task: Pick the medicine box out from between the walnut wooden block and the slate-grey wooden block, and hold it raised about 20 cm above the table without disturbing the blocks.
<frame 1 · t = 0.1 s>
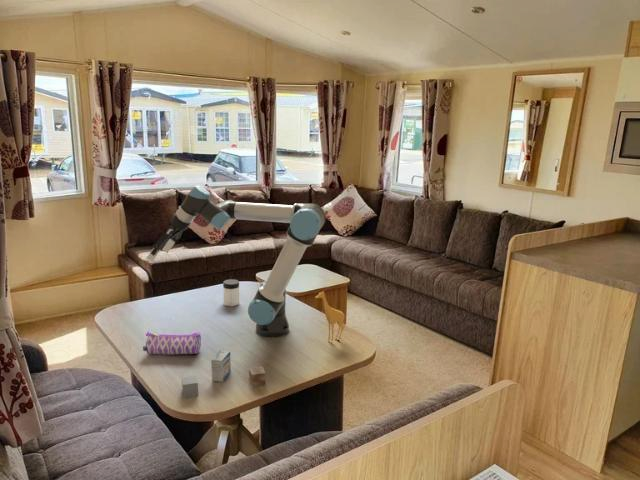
hand: (157, 255, 204), 36 cm above the table, tool tilted 35°, fingers open, 13 cm apart
pencil case: (174, 353, 196), on the table
giraffe: (329, 342, 209), on the table
slate grey block: (190, 392, 168), on the table
walnut block: (257, 382, 176), on the table
medicine box: (221, 376, 179), on the table
jar: (231, 303, 249), on the table
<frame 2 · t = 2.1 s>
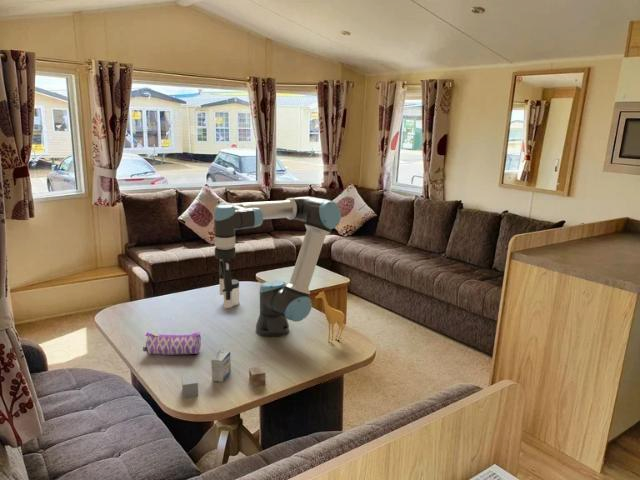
hand: (225, 300, 181), 27 cm above the table, tool pointing down, fingers open, 13 cm apart
nothing on the table moved.
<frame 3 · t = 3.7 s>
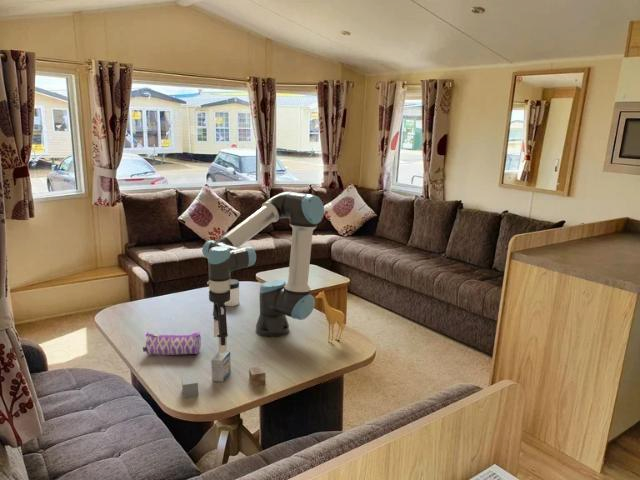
hand: (220, 344, 175), 13 cm above the table, tool pointing down, fingers open, 13 cm apart
nothing on the table moved.
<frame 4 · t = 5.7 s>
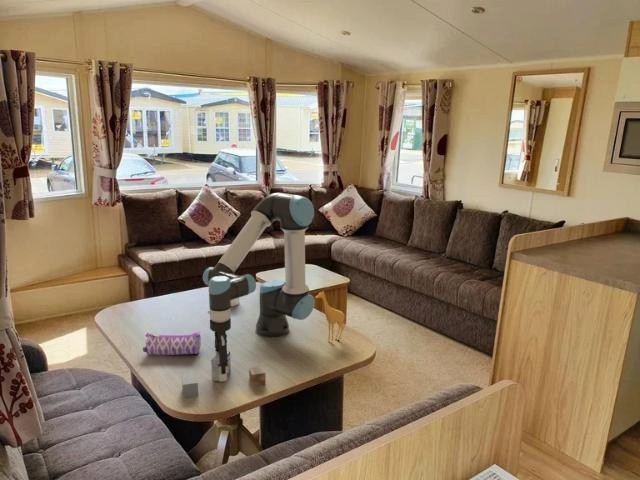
hand: (221, 374, 179), 1 cm above the table, tool pointing down, fingers closed on medicine box, 9 cm apart
medicine box: (221, 376, 179), on the table, touching gripper
everything else where it was.
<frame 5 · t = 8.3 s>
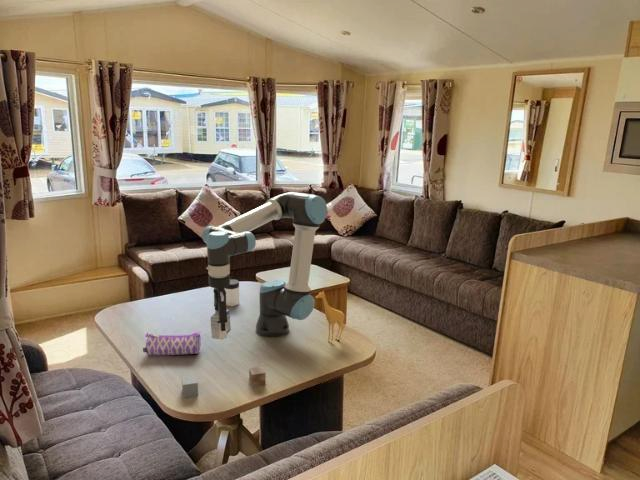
hand: (221, 332, 176), 17 cm above the table, tool pointing down, fingers closed on medicine box, 9 cm apart
medicine box: (221, 335, 176), point 16 cm above the table, touching gripper
everything else where it was.
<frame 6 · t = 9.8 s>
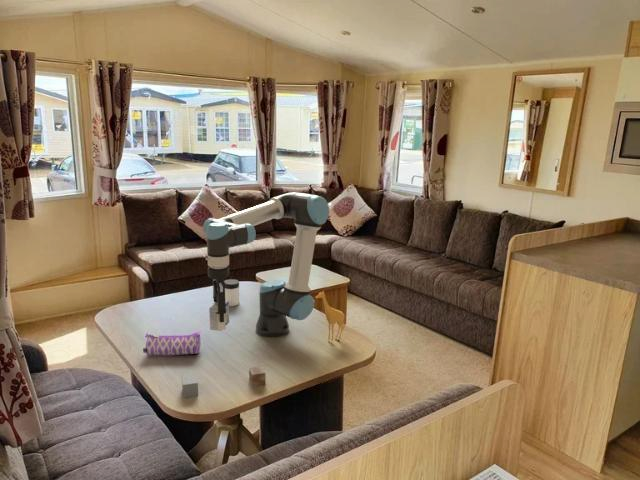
hand: (219, 324, 176), 20 cm above the table, tool pointing down, fingers closed on medicine box, 9 cm apart
medicine box: (219, 326, 176), point 19 cm above the table, touching gripper
everything else where it was.
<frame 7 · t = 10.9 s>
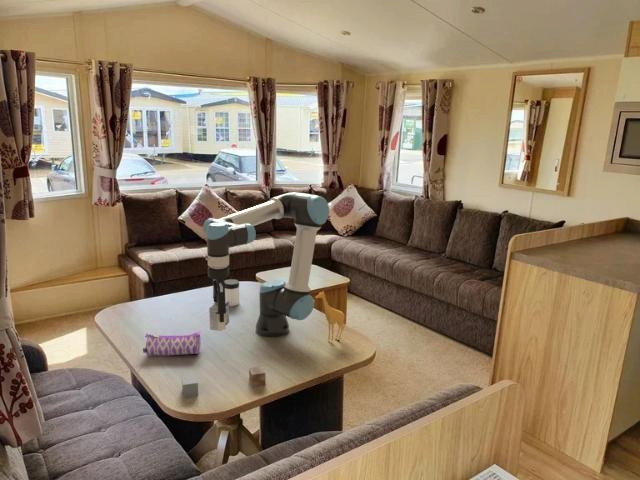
hand: (219, 324, 176), 20 cm above the table, tool pointing down, fingers closed on medicine box, 9 cm apart
medicine box: (219, 326, 176), point 19 cm above the table, touching gripper
everything else where it was.
at the end: the gripper is holding medicine box; medicine box point 19.3 cm above the table; slate grey block moved 0.1 cm from its start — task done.
